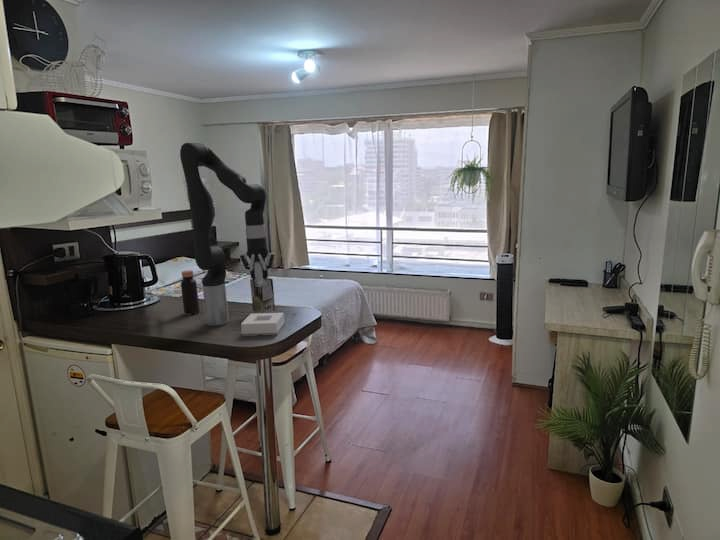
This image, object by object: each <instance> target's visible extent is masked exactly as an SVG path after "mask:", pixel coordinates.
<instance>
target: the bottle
mask: <svg viewBox="0 0 720 540" xmlns="http://www.w3.org/2000/svg"><path fill="white" fill-rule="evenodd" d="M181 278H182V280H181V282H180V288H181V297H182V305H183V313H186V314H194V315H196V314H195V313H198V314H199V313H200V302H199V294H198V285H197V280H195V279H194V270H184V271H183V270H182V271H181Z"/></svg>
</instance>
